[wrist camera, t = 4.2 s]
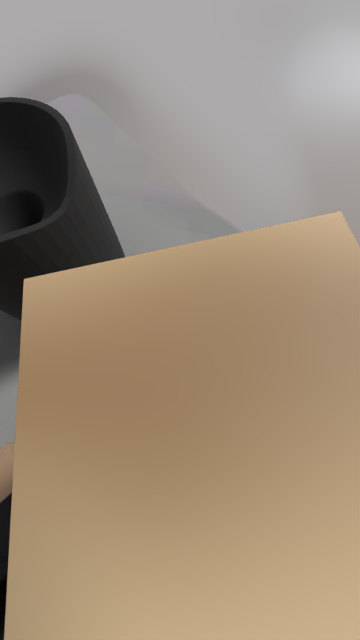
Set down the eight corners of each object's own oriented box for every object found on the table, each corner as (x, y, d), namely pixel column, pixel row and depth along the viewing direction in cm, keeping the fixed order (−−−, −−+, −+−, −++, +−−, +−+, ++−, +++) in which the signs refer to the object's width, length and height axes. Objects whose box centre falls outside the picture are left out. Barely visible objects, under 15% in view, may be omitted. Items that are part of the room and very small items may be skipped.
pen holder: (5, 260, 23) (-136, 144, 14) (111, 214, 23) (45, 73, 14) (29, 362, 19) (-141, 299, 10) (153, 306, 20) (101, 196, 11)
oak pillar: (269, 469, 14) (584, 675, 2) (178, 486, 14) (-3, 760, 2) (245, 378, 15) (341, 211, 4) (165, 393, 15) (24, 279, 4)
